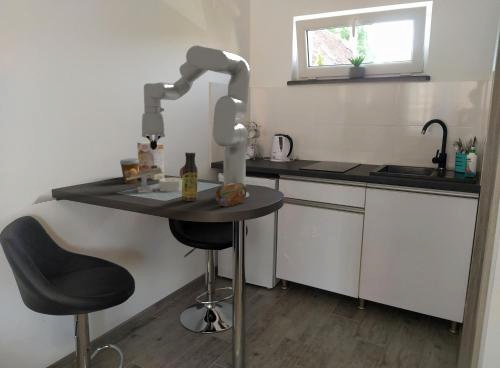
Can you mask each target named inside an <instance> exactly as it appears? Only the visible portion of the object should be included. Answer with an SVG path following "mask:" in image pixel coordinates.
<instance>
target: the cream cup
mask: <svg viewBox="0 0 500 368" xmlns="http://www.w3.org/2000/svg"><path fill="white" fill-rule="evenodd" d="M158 190H159V191H160V192H180V191H182V178H181V177H164V178H163V179H158Z"/></svg>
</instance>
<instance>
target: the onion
mask: <svg viewBox="0 0 500 368" xmlns="http://www.w3.org/2000/svg"><path fill="white" fill-rule="evenodd" d="M183 167H184V165H183V166H182V167H181V168H180V169H179V176H180V178H182V175H183ZM197 172H198V173H199V171H198V169H197Z"/></svg>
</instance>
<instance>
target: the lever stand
mask: <svg viewBox="0 0 500 368" xmlns="http://www.w3.org/2000/svg"><path fill="white" fill-rule="evenodd" d="M140 179H141V180H140V181H141V186H137V187H136V188H137V192H138V194H141V193H142V194H143V193H153V188H152V187H151V186H150V185H149V186H148V179H147V174H142V177H140Z"/></svg>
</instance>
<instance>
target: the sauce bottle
mask: <svg viewBox="0 0 500 368" xmlns="http://www.w3.org/2000/svg"><path fill="white" fill-rule="evenodd" d="M184 156H185V163H184V165H183V166H184V167H183V166H182V167H183V175H182V190H181V198H182V199H181V200H182V202H183V201H184V202H194V201H195V202H196V201H197V198H198V183H199V182H198V177H199V171H198V172H197V170H198V167H197V165H196V152H193V151H187V152H186V151H185V154H184Z"/></svg>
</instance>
